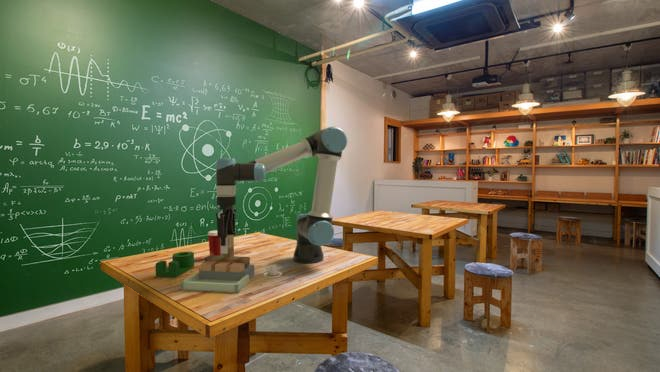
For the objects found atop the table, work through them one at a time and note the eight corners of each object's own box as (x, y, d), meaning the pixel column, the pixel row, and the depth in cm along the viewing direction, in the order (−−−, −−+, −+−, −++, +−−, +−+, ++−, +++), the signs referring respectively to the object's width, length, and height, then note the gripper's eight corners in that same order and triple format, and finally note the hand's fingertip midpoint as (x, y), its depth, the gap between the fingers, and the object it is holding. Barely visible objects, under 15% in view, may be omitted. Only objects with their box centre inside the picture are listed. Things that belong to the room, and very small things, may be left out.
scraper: (249, 264, 135) (249, 235, 134) (246, 266, 131) (245, 237, 130) (209, 262, 137) (208, 234, 137) (204, 264, 133) (204, 236, 133)
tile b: (230, 268, 132) (230, 262, 132) (225, 271, 127) (225, 265, 127) (220, 267, 132) (220, 261, 132) (215, 271, 128) (214, 265, 128)
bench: (254, 275, 137) (254, 264, 137) (246, 282, 128) (246, 271, 128) (210, 273, 140) (210, 262, 140) (199, 280, 131) (198, 269, 131)
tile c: (216, 267, 133) (216, 261, 133) (210, 271, 128) (210, 264, 128) (206, 267, 133) (206, 261, 133) (200, 270, 129) (200, 264, 129)
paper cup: (226, 257, 165) (226, 230, 164) (220, 261, 157) (219, 233, 157) (212, 256, 166) (211, 229, 165) (204, 261, 158) (204, 232, 157)
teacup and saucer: (268, 271, 144) (268, 262, 143) (285, 272, 142) (285, 263, 142) (260, 277, 135) (260, 268, 135) (278, 279, 134) (278, 269, 133)
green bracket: (179, 264, 153) (179, 251, 152) (197, 265, 152) (197, 251, 152) (155, 277, 135) (155, 262, 135) (176, 278, 134) (175, 262, 134)
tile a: (244, 268, 131) (244, 262, 131) (240, 272, 127) (240, 266, 126) (234, 268, 132) (234, 262, 132) (229, 271, 127) (229, 265, 127)
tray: (249, 282, 128) (249, 275, 128) (237, 293, 117) (237, 284, 117) (196, 280, 131) (196, 272, 131) (180, 290, 120) (180, 282, 120)
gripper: (227, 194, 142) (227, 246, 143) (207, 197, 125) (207, 257, 126) (243, 194, 141) (243, 247, 142) (225, 197, 124) (226, 257, 125)
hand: (227, 251), depth 134 cm, fingers closed on scraper, 4 cm apart
